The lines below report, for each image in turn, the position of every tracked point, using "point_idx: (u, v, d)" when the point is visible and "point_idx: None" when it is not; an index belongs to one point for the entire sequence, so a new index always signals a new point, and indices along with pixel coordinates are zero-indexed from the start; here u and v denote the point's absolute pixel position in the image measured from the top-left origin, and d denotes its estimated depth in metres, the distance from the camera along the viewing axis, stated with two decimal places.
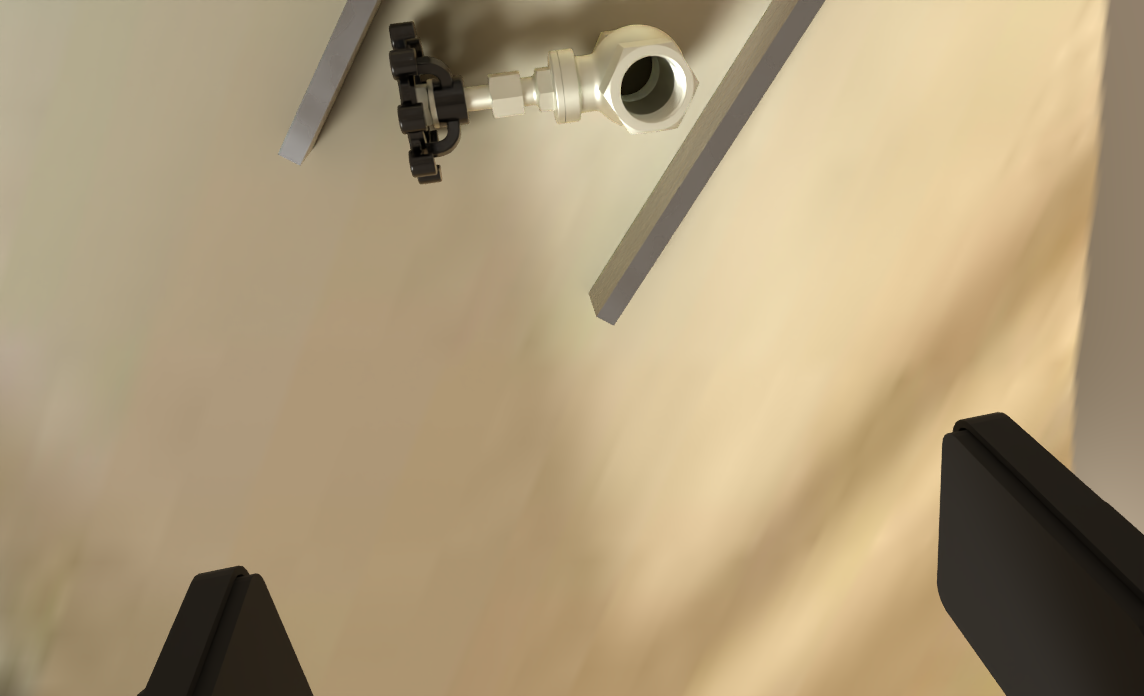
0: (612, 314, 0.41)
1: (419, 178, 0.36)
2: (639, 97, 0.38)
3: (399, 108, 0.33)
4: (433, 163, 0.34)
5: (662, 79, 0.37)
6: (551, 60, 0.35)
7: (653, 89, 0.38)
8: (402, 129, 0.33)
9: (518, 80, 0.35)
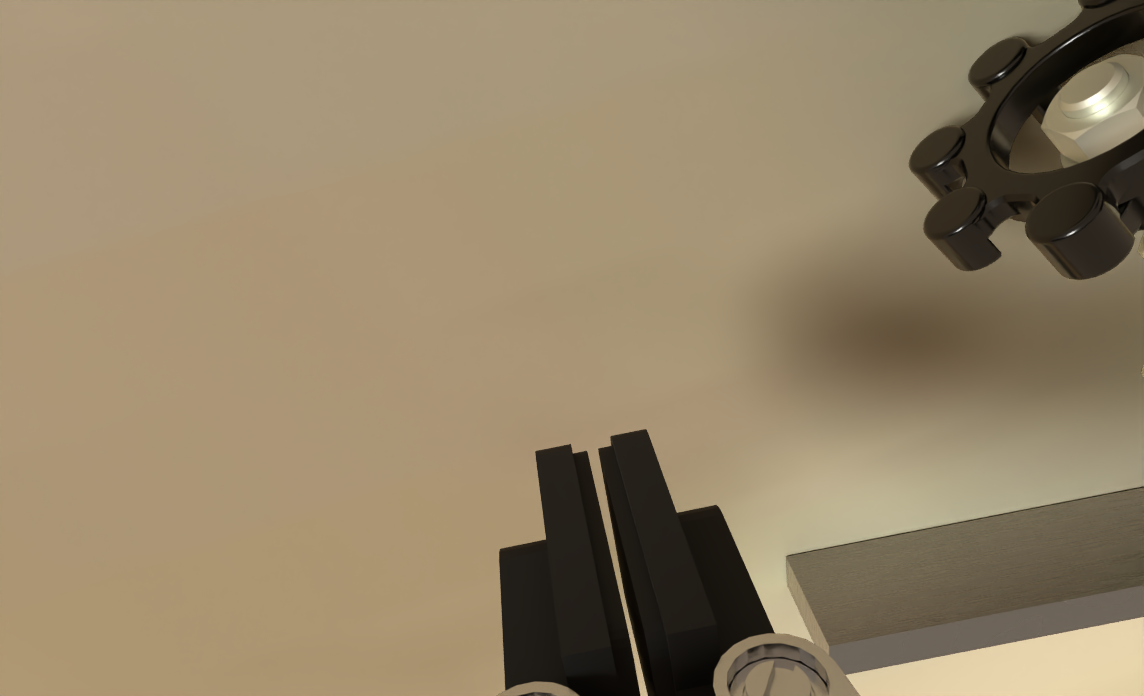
0: (850, 661, 0.19)
1: (961, 231, 0.14)
2: None
3: None
4: (1119, 261, 0.12)
5: None
6: None
7: None
8: None
9: None
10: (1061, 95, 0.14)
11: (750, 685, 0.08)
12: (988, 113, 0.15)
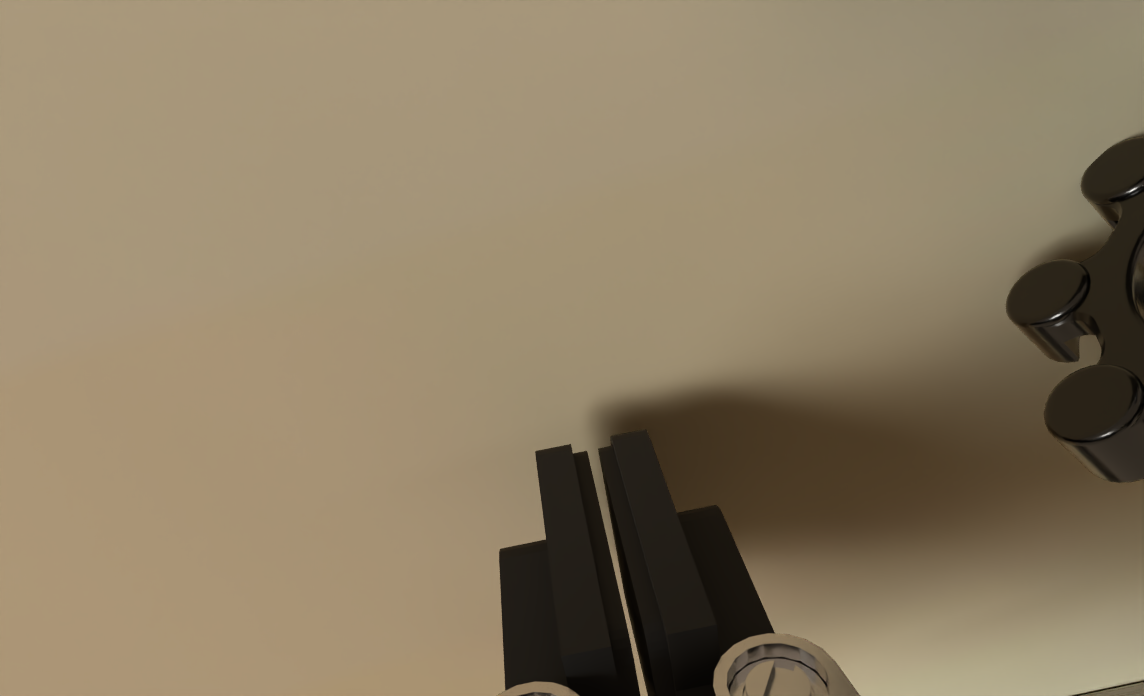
0: None
1: (1110, 438, 0.10)
2: None
3: None
4: None
5: None
6: None
7: None
8: None
9: None
10: None
11: (750, 685, 0.08)
12: (1123, 248, 0.11)
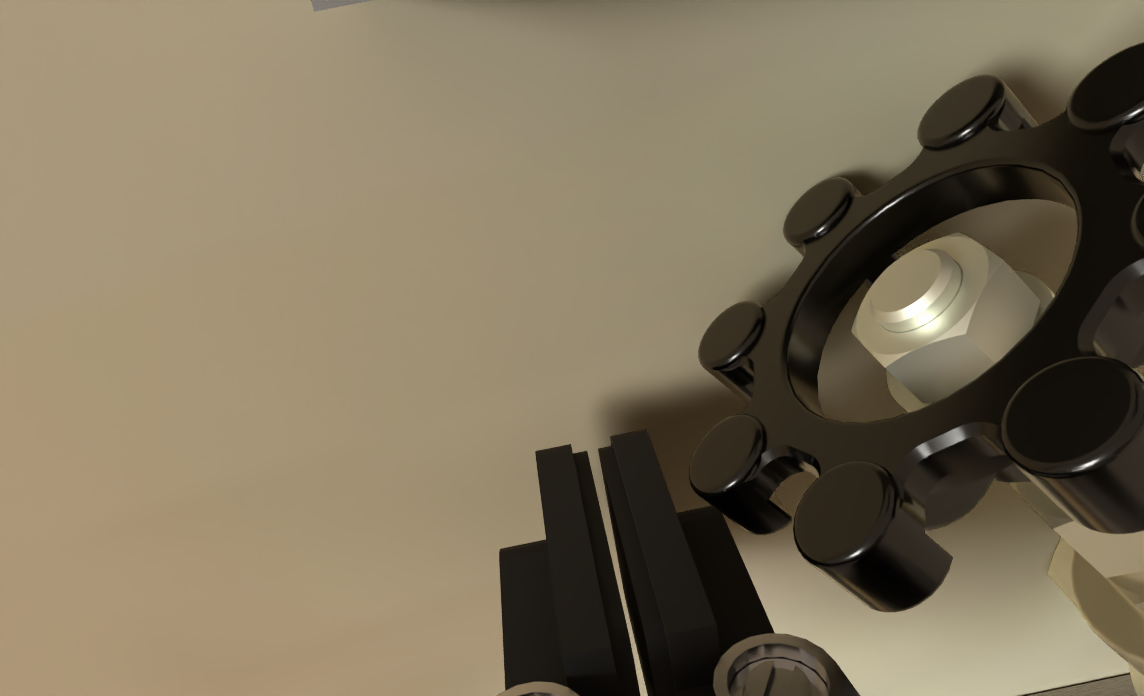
0: None
1: (727, 492, 0.09)
2: None
3: None
4: (927, 595, 0.08)
5: None
6: None
7: None
8: (1076, 472, 0.06)
9: None
10: (872, 292, 0.09)
11: (750, 685, 0.08)
12: (793, 292, 0.11)
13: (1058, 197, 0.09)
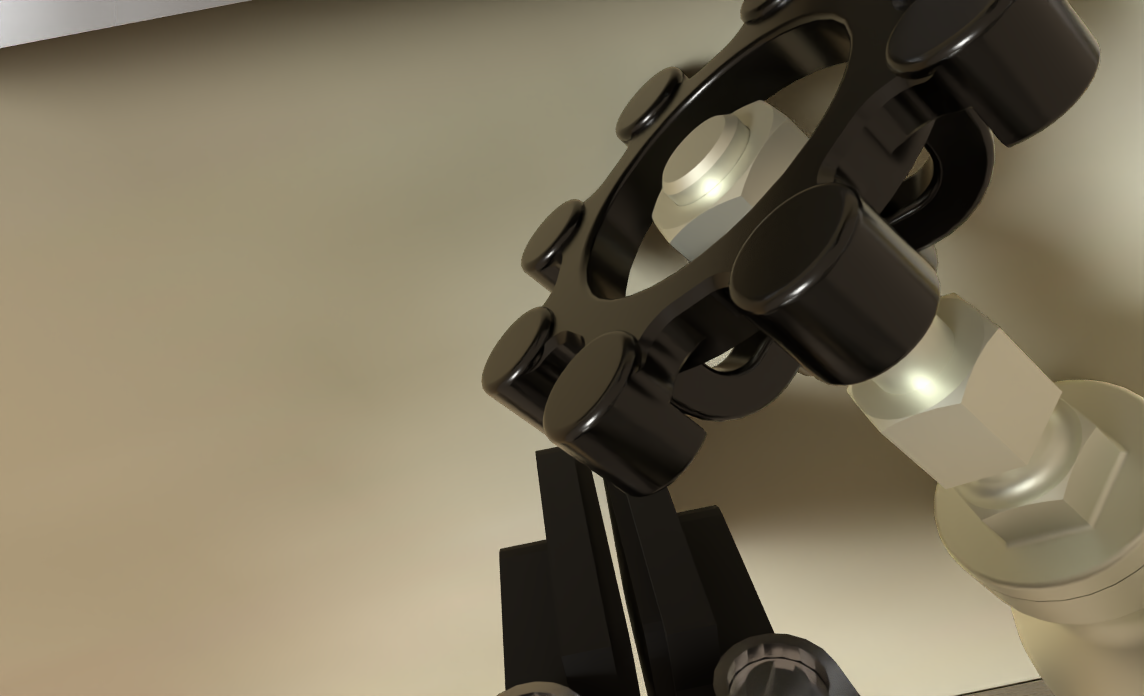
0: None
1: (508, 386, 0.09)
2: None
3: (861, 209, 0.05)
4: (677, 474, 0.07)
5: None
6: None
7: None
8: (782, 304, 0.05)
9: (1046, 408, 0.09)
10: (666, 166, 0.09)
11: (750, 686, 0.08)
12: (610, 184, 0.10)
13: None
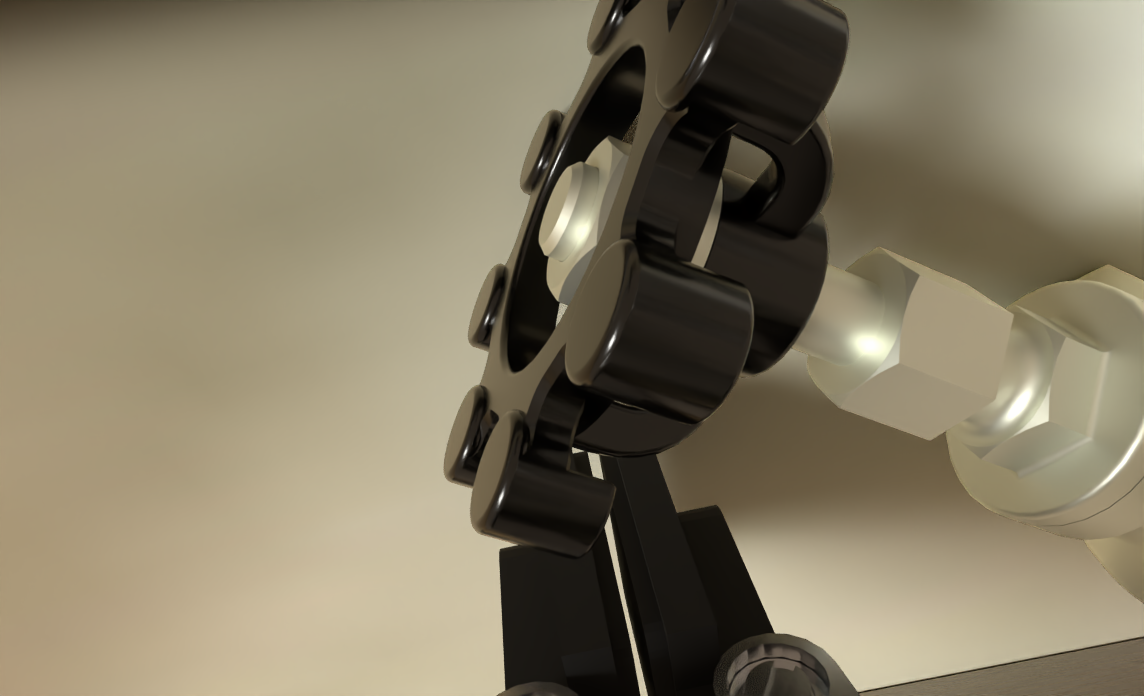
0: None
1: (460, 472, 0.09)
2: None
3: (640, 266, 0.06)
4: (598, 532, 0.07)
5: None
6: None
7: None
8: (594, 376, 0.06)
9: (1001, 336, 0.09)
10: (541, 226, 0.09)
11: (750, 685, 0.08)
12: (518, 245, 0.10)
13: None
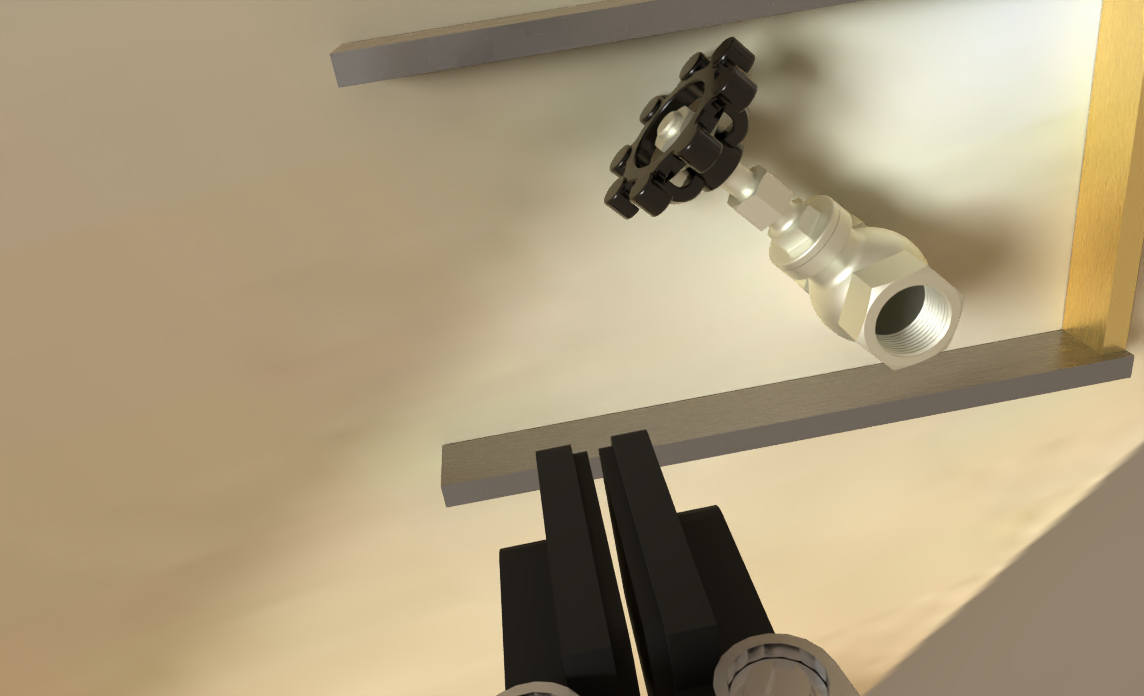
0: (456, 497, 0.33)
1: (614, 199, 0.28)
2: None
3: (700, 129, 0.25)
4: (666, 206, 0.26)
5: None
6: (832, 208, 0.29)
7: None
8: (685, 151, 0.25)
9: (788, 197, 0.29)
10: (657, 128, 0.28)
11: (750, 685, 0.08)
12: (639, 137, 0.29)
13: None
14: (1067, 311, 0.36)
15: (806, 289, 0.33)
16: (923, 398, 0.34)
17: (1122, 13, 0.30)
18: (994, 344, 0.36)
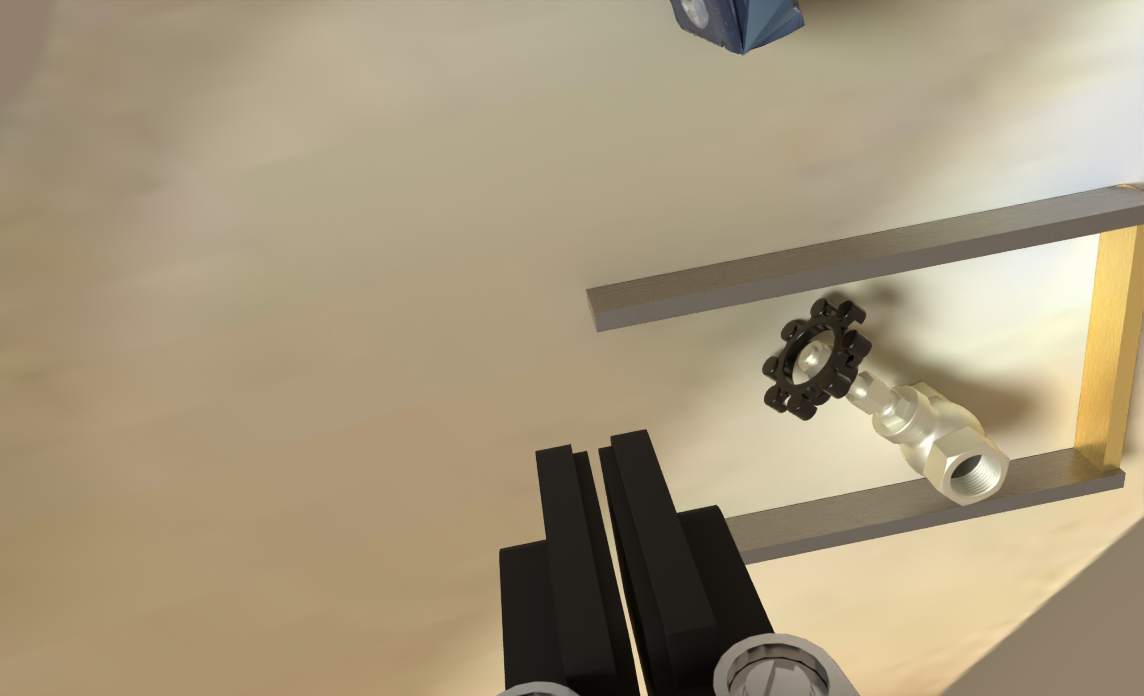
0: None
1: (773, 403, 0.42)
2: None
3: (837, 374, 0.39)
4: (813, 415, 0.40)
5: None
6: (918, 400, 0.43)
7: None
8: (828, 388, 0.39)
9: (888, 394, 0.43)
10: (800, 355, 0.42)
11: (751, 685, 0.08)
12: (784, 354, 0.44)
13: None
14: (1077, 436, 0.50)
15: None
16: (974, 505, 0.47)
17: (1113, 251, 0.44)
18: (1024, 460, 0.50)
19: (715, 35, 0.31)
